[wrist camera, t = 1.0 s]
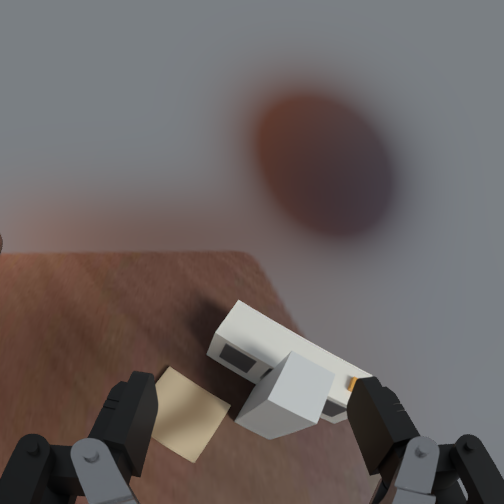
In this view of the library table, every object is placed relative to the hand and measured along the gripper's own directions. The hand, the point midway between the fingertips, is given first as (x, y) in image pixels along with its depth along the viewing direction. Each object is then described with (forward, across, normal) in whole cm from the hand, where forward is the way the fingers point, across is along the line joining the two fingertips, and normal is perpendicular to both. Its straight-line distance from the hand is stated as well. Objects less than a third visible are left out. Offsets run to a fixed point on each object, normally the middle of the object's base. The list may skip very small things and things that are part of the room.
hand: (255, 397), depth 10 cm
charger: (+15, -3, +17) cm, 22 cm away
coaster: (+12, +6, +16) cm, 21 cm away
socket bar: (+18, -5, +15) cm, 24 cm away
